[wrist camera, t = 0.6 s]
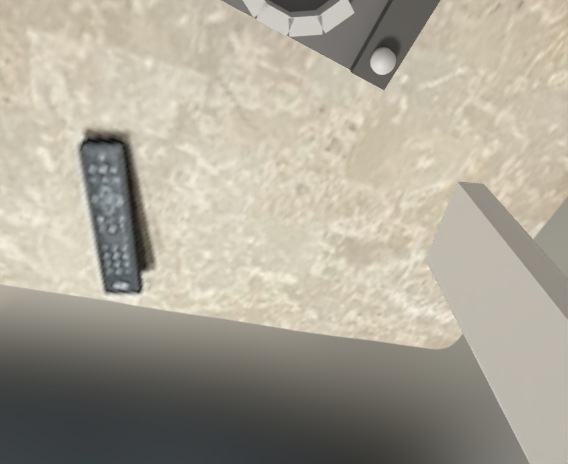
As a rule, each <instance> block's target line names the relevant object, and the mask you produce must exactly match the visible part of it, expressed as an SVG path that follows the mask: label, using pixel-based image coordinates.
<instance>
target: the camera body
mask: <svg viewBox="0 0 568 464" xmlns="http://www.w3.org/2000/svg"><path fill="white" fill-rule="evenodd" d="M222 1H224V2H226V3H227V4H229V5H231V6H233V7H235V8H237V9H239V10H240V11H242V12H244V13H246V14H248V15H250V16H252V17H253V18H255V19H256V20H257V21H259V22H261V23H263V24H265V25H266V26H268V27H270V28H272V29H274V30H276V31H278V32H279V33H281V34H283V35H285V36H289V37H291V38H292V39H294V40H296V41H298V42H300V43H302V44H304V45H305V46H307V47H309V48H311V49H313V50H315V51H317V52H318V53H320V54H322V55H324V56H326V57H328V58H330V59H331V60H333V61H335V62H337V63H339V64H341V65H343V66H344V67H346V68H348V69H350V70H351V72H352V73H353V74H355V75H357V76H359V77H361V78H363V79H364V80H366V81H368V82H370V83H372V84H374V85H376V86H378V87H379V88H381V89H383V90H385V88H386V86H387V85H388V83H389V82H390V80H391V78H392V77H393V75H394V74H395V72H396V70H397V69H398V67H399V66H400V64H401V62H402V61H403V59H404V58H405V56H406V54H407V53H408V51H409V50H410V48H411V46H412V45H413V43H414V42H415V40H416V38H417V37H418V35H419V34H420V32H421V30H422V29H423V27H424V26H425V24H426V22H427V21H428V19H429V18H430V16H431V14H432V13H433V11H434V10H435V8H436V6H437V5H438V3H439V2H440V0H222Z"/></svg>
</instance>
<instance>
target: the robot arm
mask: <svg viewBox="0 0 568 464" xmlns="http://www.w3.org/2000/svg"><path fill="white" fill-rule="evenodd" d="M425 260H426V262H427V264H428V266H429V268H430V270H431V272H432V273H433V275H434V277H435V279H436V281H437V283H438V285H439V287H440V289H441V291H442V293H443V295H444V297H445V299H446V301H447V303H448V305H449V307H450V309H451V311H452V313H453V315H454V317H455V318H456V320H457V322H458V324H459V326H460V328H461V330H462V332H463V334H464V336H465V338H466V340H467V342H468V344H469V346H470V348H471V350H472V352H473V354H474V356H475V357H476V360H477V362H478V363H479V365H480V367H481V369H482V371H483V373H484V375H485V377H486V379H487V381H488V383H489V385H490V387H491V389H492V391H493V393H494V395H495V397H496V399H497V401H498V403H499V405H500V407H501V408H502V410H503V412H504V414H505V416H506V418H507V420H508V422H509V424H510V426H511V428H512V430H513V432H514V434H515V436H516V438H517V439H518V442H519V444H520V446H521V448H522V450H523V451H524V453H525V455H526V457H527V459H528V461H529V463H530V464H568V278H567V277H566V276H565V275H564V273H563V272H562V271H561V270H560V269H559V268H558V267H557V266H556V264H555V263H554V262H553V261H552V260H551V259H550V258H549V257H548V256H547V254H546V253H545V252H544V251H543V250H542V249H541V248H540V247H539V245H538V244H537V243H536V242H535V241H534V240H533V239H532V238H531V237H530V235H529V234H528V233H527V232H526V231H525V230H524V229H523V228H522V226H521V225H520V224H519V223H518V222H517V221H516V220H515V219H514V218H513V216H512V215H511V214H510V213H509V212H508V211H507V210H506V209H505V207H504V206H503V205H502V204H501V203H500V202H499V201H498V200H497V199H496V197H495V196H494V195H493V194H492V193H491V192H490V191H489V190H488V188H487V187H486V186H485V185H484V184H478V183H467V182H457V184H456V186H455V188H454V191H453V193H452V196H451V198H450V201H449V203H448V205H447V208H446V210H445V213H444V215H443V217H442V220H441V222H440V225H439V227H438V230H437V232H436V234H435V237H434V239H433V242H432V244H431V246H430V249H429V251H428V254H427V256H426V258H425Z"/></svg>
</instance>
